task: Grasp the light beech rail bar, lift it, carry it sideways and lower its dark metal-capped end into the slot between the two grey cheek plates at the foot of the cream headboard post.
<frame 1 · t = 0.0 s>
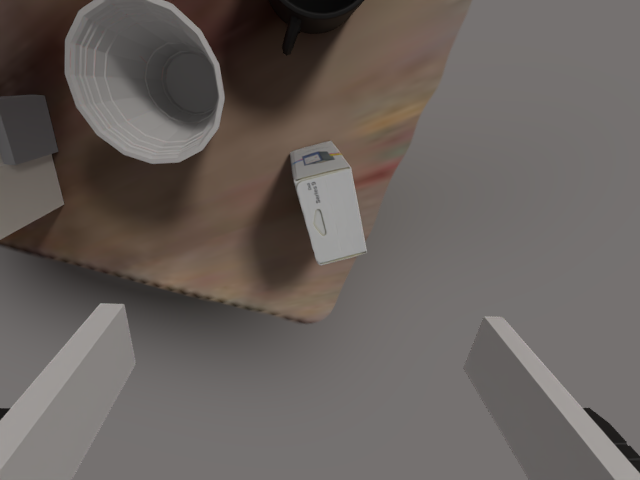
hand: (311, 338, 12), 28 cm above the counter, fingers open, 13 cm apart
headboard post: (28, 176, 36), on the counter
ink box: (320, 180, 39), on the counter
plastic cup: (192, 83, 33), on the counter
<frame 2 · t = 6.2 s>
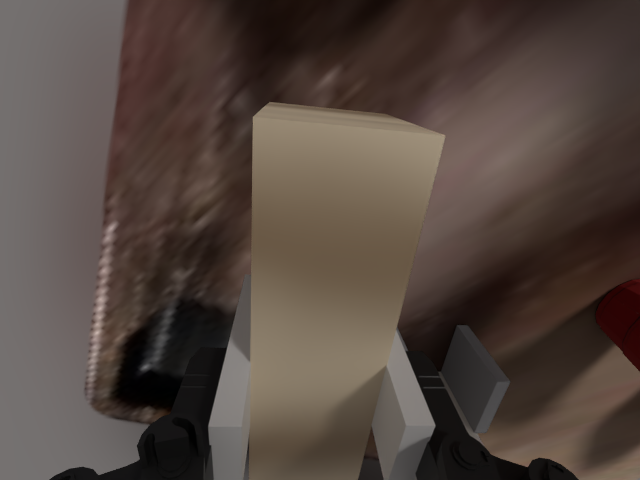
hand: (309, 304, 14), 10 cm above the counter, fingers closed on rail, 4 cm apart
rail: (305, 335, 15), point 9 cm above the counter, touching gripper
headboard post: (405, 394, 32), on the counter
plastic cup: (621, 303, 29), on the counter
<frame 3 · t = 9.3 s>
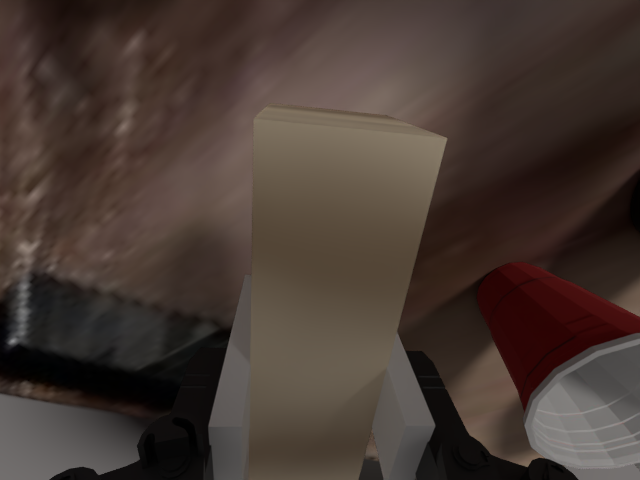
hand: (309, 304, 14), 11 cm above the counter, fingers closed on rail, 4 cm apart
rail: (304, 336, 15), point 11 cm above the counter, touching gripper
plastic cup: (504, 288, 29), on the counter
when the fingers open (0 cm above the counter, at t = 12.9 s): rail stays where it is, on the counter.
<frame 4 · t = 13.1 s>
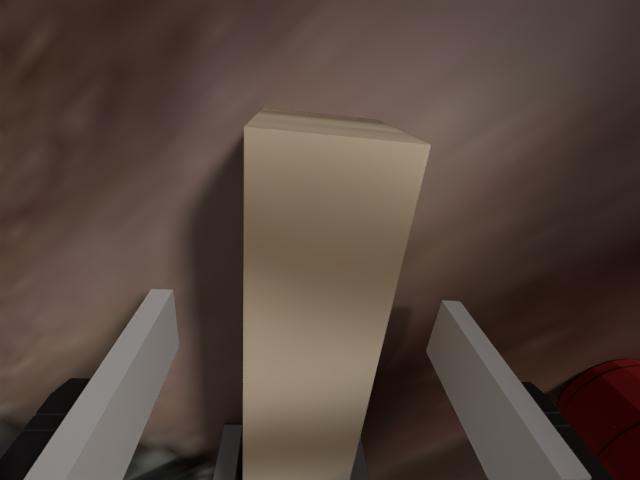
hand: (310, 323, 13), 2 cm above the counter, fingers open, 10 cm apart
rail: (299, 336, 16), on the counter
plastic cup: (597, 390, 20), on the counter
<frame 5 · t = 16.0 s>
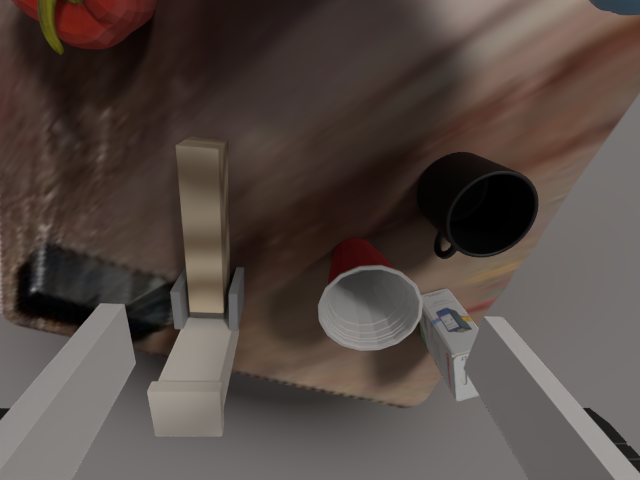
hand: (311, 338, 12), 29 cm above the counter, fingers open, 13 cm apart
rail: (212, 221, 40), on the counter
headboard post: (217, 317, 47), on the counter
mug: (446, 198, 42), on the counter
ink box: (433, 312, 50), on the counter
plastic cup: (351, 255, 44), on the counter
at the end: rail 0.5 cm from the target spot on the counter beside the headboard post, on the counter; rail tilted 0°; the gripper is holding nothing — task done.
